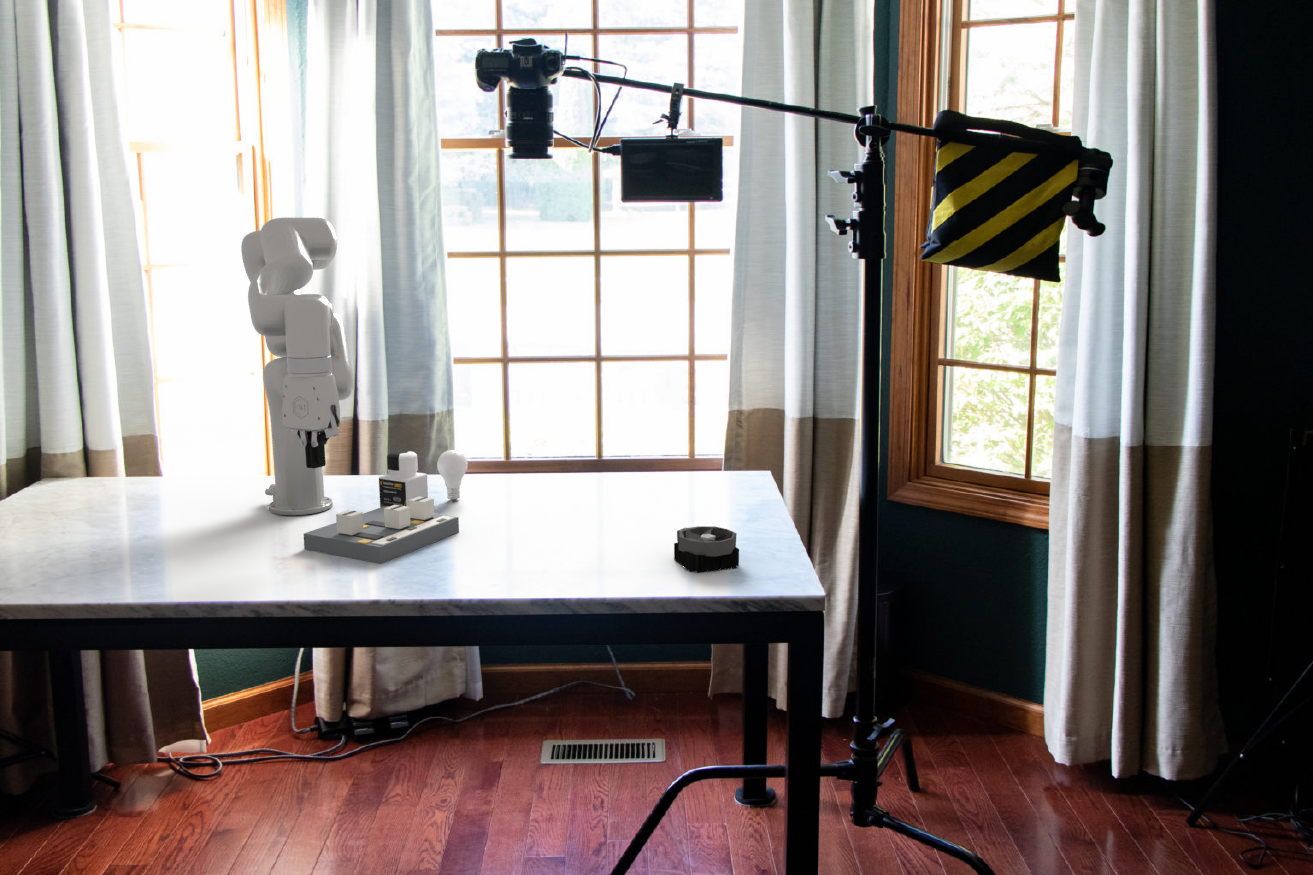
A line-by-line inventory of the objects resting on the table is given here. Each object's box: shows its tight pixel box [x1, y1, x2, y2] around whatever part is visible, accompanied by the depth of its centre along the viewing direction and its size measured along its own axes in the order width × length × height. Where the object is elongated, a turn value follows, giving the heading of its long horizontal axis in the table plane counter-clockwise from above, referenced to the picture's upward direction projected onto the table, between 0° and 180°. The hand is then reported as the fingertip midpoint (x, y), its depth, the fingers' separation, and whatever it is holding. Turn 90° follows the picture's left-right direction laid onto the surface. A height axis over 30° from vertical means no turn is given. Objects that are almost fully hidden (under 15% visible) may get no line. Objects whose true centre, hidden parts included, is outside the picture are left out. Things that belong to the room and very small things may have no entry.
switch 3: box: [409, 496, 435, 520], centre depth 205 cm, size 4×3×4 cm
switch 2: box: [384, 505, 410, 529], centre depth 199 cm, size 4×3×4 cm
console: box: [303, 506, 460, 565], centre depth 201 cm, size 18×22×3 cm
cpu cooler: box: [673, 525, 740, 574], centre depth 188 cm, size 10×6×10 cm
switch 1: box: [335, 509, 363, 535], centre depth 195 cm, size 4×3×4 cm
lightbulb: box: [436, 449, 469, 502], centre depth 230 cm, size 6×6×11 cm
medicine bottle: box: [378, 450, 429, 508], centre depth 223 cm, size 7×7×12 cm
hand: (316, 466), depth 196 cm, fingers closed
